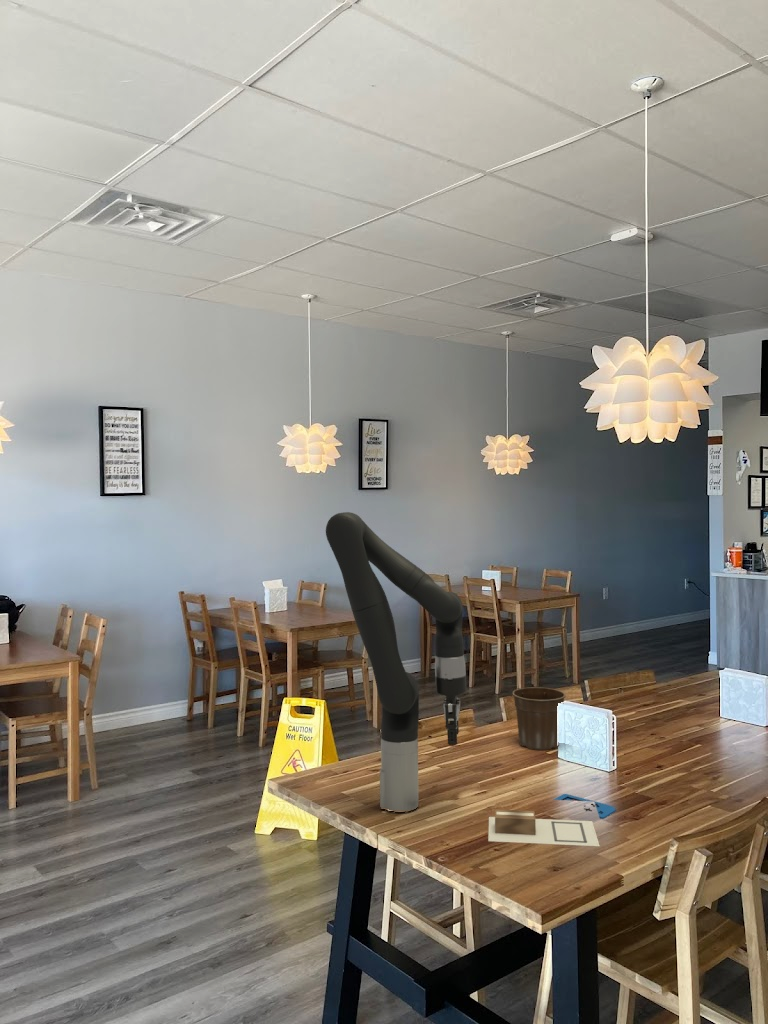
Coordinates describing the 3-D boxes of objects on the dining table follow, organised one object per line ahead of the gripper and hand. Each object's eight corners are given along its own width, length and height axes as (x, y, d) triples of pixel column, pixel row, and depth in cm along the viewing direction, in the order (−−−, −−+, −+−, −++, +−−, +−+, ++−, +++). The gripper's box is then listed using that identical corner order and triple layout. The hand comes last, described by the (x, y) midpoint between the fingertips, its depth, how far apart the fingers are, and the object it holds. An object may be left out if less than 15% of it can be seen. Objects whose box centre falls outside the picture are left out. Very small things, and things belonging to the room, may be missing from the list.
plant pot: (570, 752, 245) (570, 699, 244) (516, 752, 245) (516, 699, 245) (560, 737, 261) (559, 687, 261) (509, 737, 261) (509, 687, 261)
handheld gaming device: (603, 816, 193) (547, 801, 203) (603, 821, 193) (547, 805, 203) (618, 806, 199) (564, 792, 209) (619, 810, 199) (564, 796, 209)
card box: (495, 833, 184) (495, 817, 184) (495, 824, 189) (495, 808, 189) (535, 834, 183) (535, 818, 183) (534, 826, 188) (534, 810, 188)
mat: (488, 843, 180) (488, 840, 180) (488, 818, 194) (488, 816, 194) (599, 848, 177) (599, 845, 177) (592, 823, 191) (592, 820, 191)
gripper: (437, 668, 208) (440, 731, 208) (433, 680, 194) (436, 748, 194) (466, 667, 207) (469, 731, 207) (464, 679, 193) (467, 748, 193)
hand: (453, 739), depth 200 cm, fingers open, 8 cm apart
